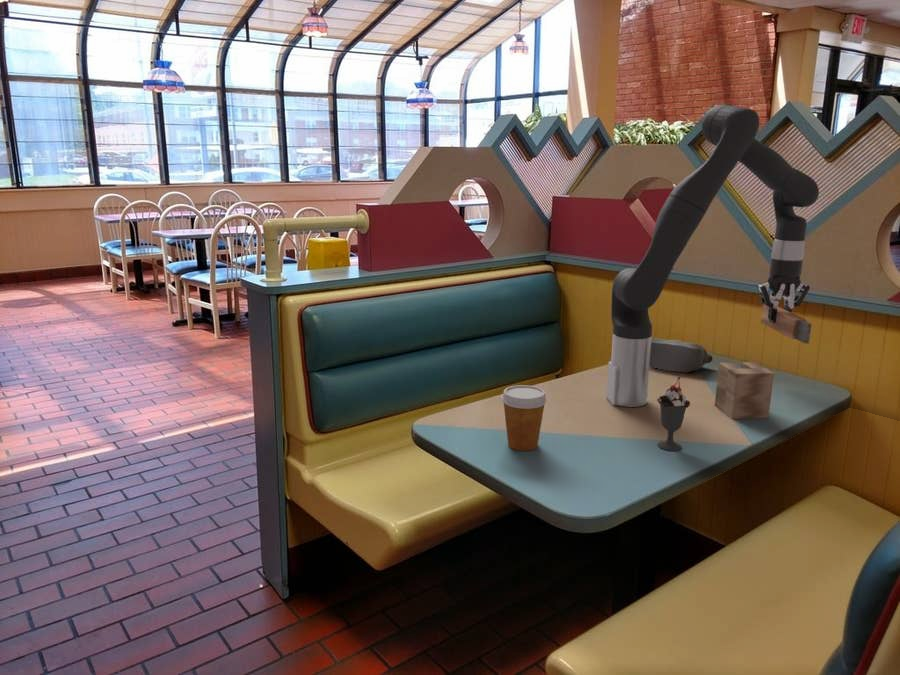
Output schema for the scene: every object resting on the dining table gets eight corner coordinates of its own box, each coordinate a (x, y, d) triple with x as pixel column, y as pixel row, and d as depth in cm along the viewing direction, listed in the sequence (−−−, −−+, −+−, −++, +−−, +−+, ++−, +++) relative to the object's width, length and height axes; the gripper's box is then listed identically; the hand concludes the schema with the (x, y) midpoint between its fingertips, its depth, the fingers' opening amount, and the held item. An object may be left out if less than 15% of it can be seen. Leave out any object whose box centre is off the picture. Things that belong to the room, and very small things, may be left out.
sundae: (682, 440, 154) (688, 374, 150) (689, 453, 147) (695, 384, 143) (650, 439, 154) (656, 373, 150) (656, 452, 148) (662, 383, 144)
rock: (713, 366, 206) (715, 340, 204) (704, 377, 197) (706, 349, 195) (650, 357, 216) (652, 332, 214) (638, 367, 207) (640, 340, 205)
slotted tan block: (731, 418, 166) (736, 374, 163) (714, 405, 175) (719, 362, 172) (768, 417, 167) (773, 373, 164) (749, 404, 176) (754, 361, 173)
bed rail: (800, 343, 176) (803, 324, 174) (760, 322, 195) (763, 304, 193) (812, 343, 176) (815, 323, 174) (771, 322, 195) (773, 304, 193)
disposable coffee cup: (516, 432, 158) (518, 381, 155) (553, 443, 152) (555, 390, 149) (491, 446, 151) (492, 392, 147) (529, 458, 145) (531, 402, 142)
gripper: (768, 259, 180) (760, 325, 184) (821, 259, 181) (812, 324, 185) (753, 255, 187) (746, 319, 191) (805, 254, 188) (796, 318, 192)
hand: (778, 321), depth 188 cm, fingers closed on bed rail, 3 cm apart
